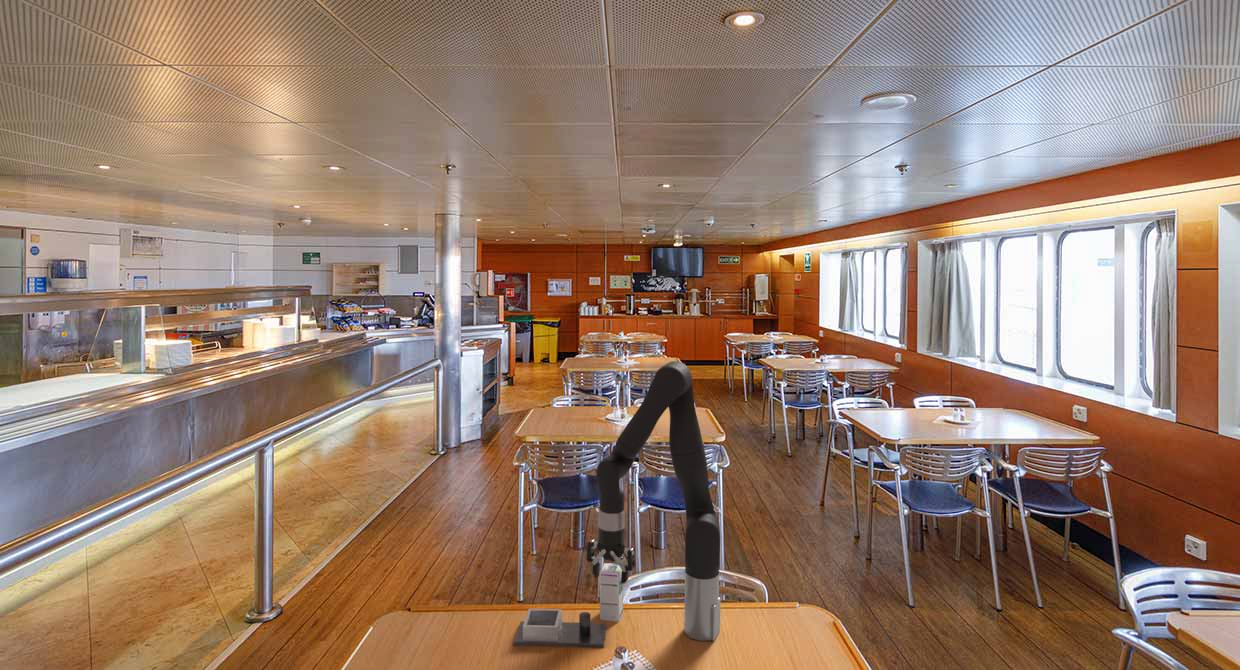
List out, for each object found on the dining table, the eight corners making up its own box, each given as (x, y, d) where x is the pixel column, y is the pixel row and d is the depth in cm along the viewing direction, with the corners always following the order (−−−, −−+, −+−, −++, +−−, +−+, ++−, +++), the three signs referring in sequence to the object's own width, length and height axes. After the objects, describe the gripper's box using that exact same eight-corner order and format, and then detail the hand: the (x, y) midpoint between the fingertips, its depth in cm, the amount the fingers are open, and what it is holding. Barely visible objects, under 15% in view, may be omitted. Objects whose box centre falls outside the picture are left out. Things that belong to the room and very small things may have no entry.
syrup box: (619, 622, 178) (619, 573, 176) (599, 620, 179) (599, 571, 178) (623, 612, 183) (623, 564, 182) (603, 609, 184) (603, 562, 183)
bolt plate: (606, 626, 175) (606, 606, 175) (604, 647, 165) (604, 625, 165) (520, 624, 176) (520, 604, 176) (513, 645, 166) (513, 623, 166)
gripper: (639, 524, 179) (638, 579, 180) (595, 516, 185) (593, 569, 186) (629, 534, 172) (627, 590, 174) (583, 524, 178) (582, 579, 179)
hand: (610, 579), depth 180 cm, fingers open, 8 cm apart
